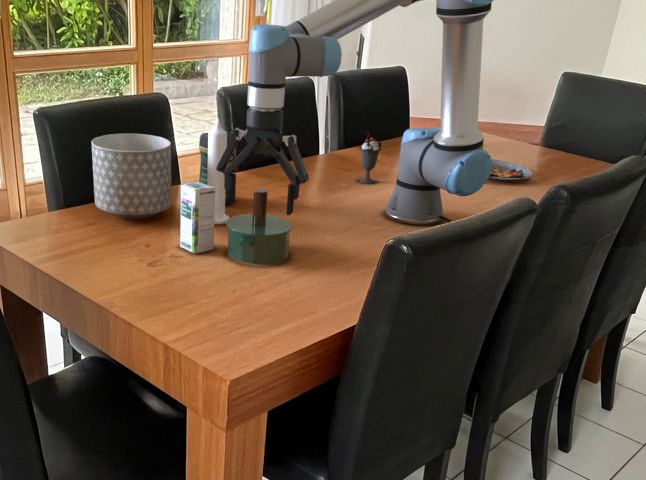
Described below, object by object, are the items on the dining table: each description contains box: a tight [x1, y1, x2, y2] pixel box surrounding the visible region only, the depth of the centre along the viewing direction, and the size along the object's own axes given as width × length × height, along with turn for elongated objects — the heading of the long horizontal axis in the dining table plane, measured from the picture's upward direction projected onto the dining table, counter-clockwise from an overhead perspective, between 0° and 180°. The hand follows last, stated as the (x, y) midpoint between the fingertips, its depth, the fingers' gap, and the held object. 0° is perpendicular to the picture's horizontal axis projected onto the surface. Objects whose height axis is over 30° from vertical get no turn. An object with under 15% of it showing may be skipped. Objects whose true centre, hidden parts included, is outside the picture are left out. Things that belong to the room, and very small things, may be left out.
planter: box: [91, 133, 172, 221], centre depth 185 cm, size 19×19×18 cm
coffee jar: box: [198, 130, 236, 204], centre depth 199 cm, size 10×8×19 cm
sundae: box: [358, 131, 382, 185], centre depth 226 cm, size 7×7×15 cm
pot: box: [227, 228, 291, 265], centre depth 167 cm, size 14×19×7 cm
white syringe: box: [207, 117, 230, 225], centre depth 183 cm, size 7×7×25 cm
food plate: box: [488, 158, 534, 182], centre depth 244 cm, size 25×23×4 cm
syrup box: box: [179, 181, 215, 255], centre depth 167 cm, size 6×6×14 cm
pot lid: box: [225, 188, 293, 238], centre depth 164 cm, size 15×15×9 cm
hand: (260, 209), depth 164 cm, fingers open, 13 cm apart
